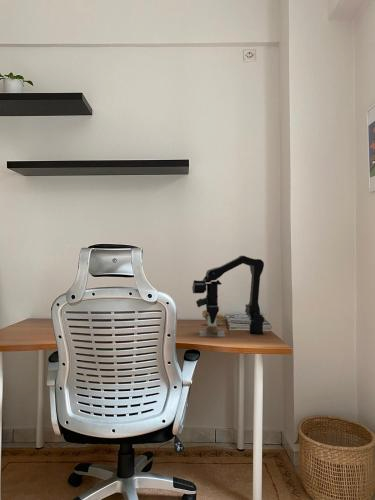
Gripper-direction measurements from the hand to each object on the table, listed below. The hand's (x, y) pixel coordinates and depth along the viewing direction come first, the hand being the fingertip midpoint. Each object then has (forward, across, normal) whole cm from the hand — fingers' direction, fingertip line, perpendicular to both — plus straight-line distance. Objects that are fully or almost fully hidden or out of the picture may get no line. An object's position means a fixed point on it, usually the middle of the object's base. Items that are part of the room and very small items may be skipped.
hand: (212, 322), depth 201 cm
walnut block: (+6, 0, 0) cm, 6 cm away
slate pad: (+6, 0, 0) cm, 6 cm away
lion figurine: (+6, -27, +2) cm, 27 cm away
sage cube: (+1, 0, 0) cm, 1 cm away
